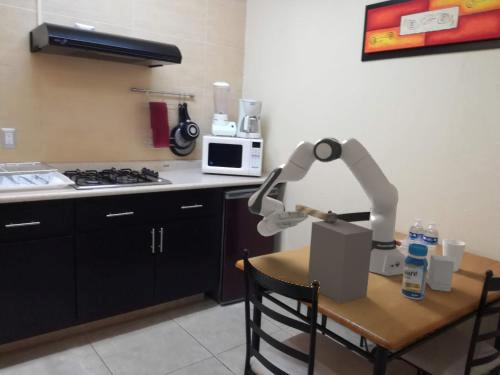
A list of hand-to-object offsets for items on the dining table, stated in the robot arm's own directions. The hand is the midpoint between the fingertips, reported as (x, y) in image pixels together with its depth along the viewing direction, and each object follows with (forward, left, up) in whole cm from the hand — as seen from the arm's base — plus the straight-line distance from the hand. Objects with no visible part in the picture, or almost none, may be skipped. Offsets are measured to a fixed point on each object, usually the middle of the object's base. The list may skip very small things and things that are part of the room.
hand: (297, 212), depth 171 cm
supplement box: (-54, +26, -26) cm, 65 cm away
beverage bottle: (-38, +32, -26) cm, 56 cm away
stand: (-9, +25, -25) cm, 37 cm away
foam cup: (-74, +8, -26) cm, 78 cm away
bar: (-4, +10, +1) cm, 11 cm away
